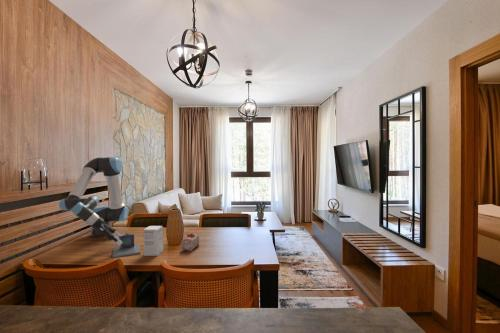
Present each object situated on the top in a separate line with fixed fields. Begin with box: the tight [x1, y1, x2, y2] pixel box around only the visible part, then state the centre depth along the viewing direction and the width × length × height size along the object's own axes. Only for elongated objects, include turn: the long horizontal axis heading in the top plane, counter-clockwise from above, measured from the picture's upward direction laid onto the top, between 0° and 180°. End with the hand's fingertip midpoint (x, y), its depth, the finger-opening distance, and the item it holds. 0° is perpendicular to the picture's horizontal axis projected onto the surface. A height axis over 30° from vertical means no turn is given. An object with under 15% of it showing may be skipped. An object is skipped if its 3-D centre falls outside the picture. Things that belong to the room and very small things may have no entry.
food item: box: [181, 233, 200, 252], centre depth 177 cm, size 14×8×10 cm, turn 168°
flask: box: [118, 231, 135, 249], centre depth 176 cm, size 9×3×11 cm, turn 115°
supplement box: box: [142, 225, 164, 257], centre depth 168 cm, size 10×9×17 cm
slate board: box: [111, 243, 141, 259], centre depth 172 cm, size 18×16×1 cm
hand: (121, 241), depth 174 cm, fingers open, 13 cm apart
